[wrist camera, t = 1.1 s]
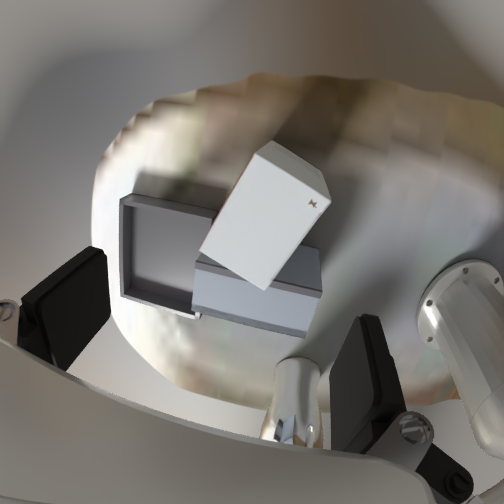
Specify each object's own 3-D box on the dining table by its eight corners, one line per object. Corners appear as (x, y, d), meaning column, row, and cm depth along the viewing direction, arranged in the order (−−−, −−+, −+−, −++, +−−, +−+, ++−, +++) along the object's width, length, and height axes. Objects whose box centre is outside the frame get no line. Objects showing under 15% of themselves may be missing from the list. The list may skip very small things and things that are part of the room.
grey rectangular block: (318, 248, 30) (322, 292, 23) (305, 290, 32) (304, 340, 25) (221, 226, 31) (195, 261, 24) (215, 268, 33) (190, 312, 26)
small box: (272, 138, 27) (255, 147, 17) (323, 171, 27) (335, 199, 18) (229, 208, 30) (194, 251, 21) (277, 238, 31) (264, 294, 21)
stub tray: (218, 211, 30) (211, 218, 28) (205, 308, 36) (199, 320, 33) (131, 193, 31) (119, 199, 29) (130, 286, 36) (120, 296, 34)
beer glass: (263, 381, 39) (244, 476, 26) (281, 347, 36) (266, 453, 23) (310, 394, 39) (304, 488, 26) (332, 362, 36) (335, 466, 23)
